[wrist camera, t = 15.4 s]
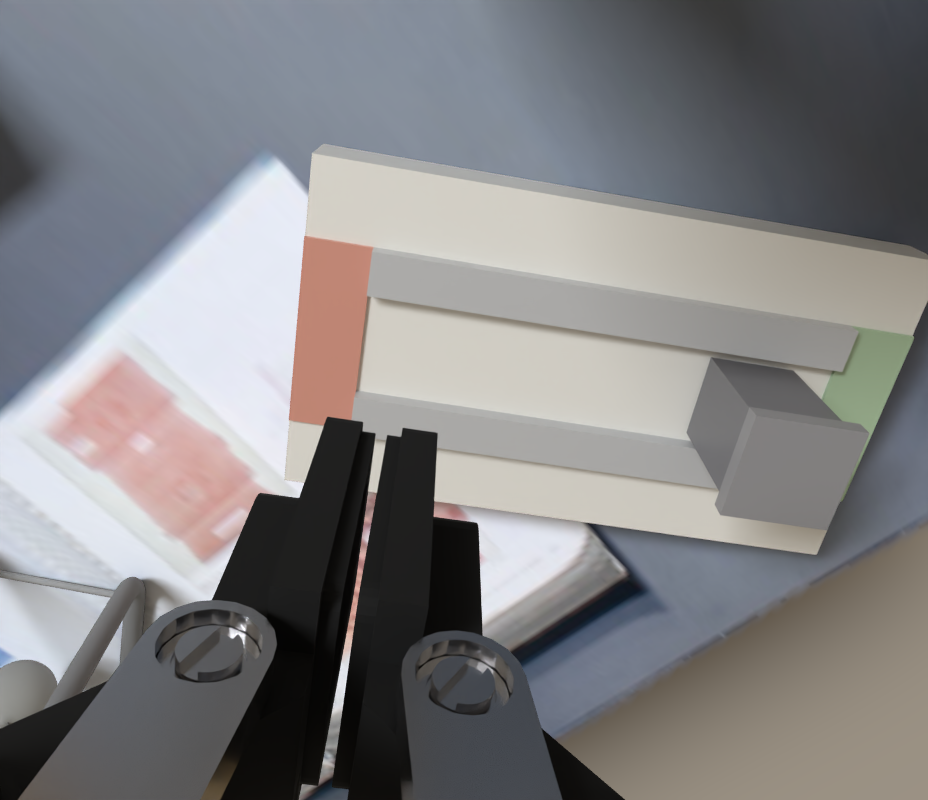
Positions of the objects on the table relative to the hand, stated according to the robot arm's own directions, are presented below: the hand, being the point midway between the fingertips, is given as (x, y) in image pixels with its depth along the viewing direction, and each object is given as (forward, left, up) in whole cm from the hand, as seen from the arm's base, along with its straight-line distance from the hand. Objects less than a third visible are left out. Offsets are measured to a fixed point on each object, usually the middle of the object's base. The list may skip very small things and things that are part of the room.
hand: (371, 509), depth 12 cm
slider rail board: (+7, +9, -27) cm, 29 cm away
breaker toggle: (+7, +16, -24) cm, 30 cm away
